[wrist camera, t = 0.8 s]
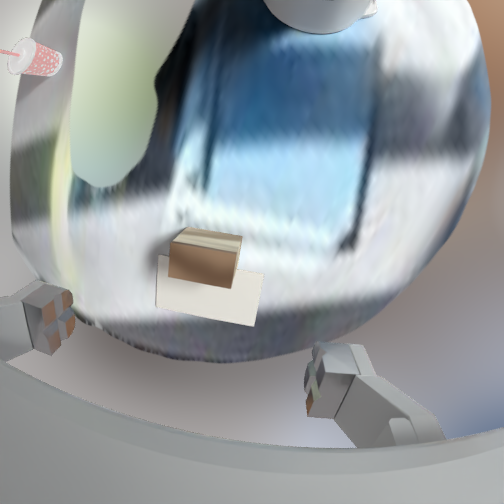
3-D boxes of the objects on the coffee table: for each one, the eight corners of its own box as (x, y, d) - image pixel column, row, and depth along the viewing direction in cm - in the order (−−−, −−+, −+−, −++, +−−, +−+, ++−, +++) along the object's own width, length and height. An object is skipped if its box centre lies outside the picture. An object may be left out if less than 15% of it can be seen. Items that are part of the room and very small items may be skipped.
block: (187, 226, 43) (170, 242, 36) (242, 236, 43) (236, 254, 36) (184, 255, 45) (167, 276, 37) (237, 265, 45) (230, 289, 37)
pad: (159, 254, 45) (158, 255, 45) (264, 273, 45) (264, 274, 44) (156, 306, 48) (156, 306, 47) (253, 325, 48) (253, 326, 47)
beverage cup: (35, 73, 36) (-19, 63, 23) (53, 43, 34) (1, 26, 21) (52, 86, 37) (-5, 76, 24) (71, 55, 35) (17, 36, 22)
